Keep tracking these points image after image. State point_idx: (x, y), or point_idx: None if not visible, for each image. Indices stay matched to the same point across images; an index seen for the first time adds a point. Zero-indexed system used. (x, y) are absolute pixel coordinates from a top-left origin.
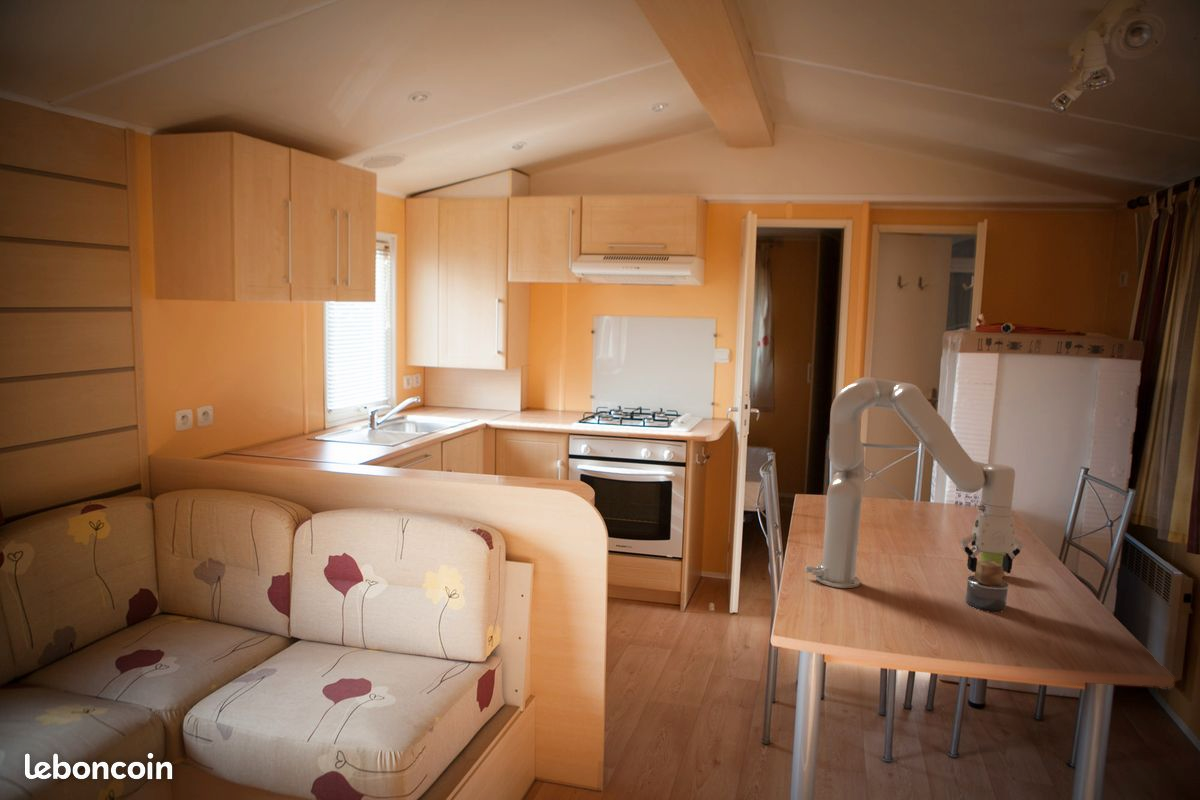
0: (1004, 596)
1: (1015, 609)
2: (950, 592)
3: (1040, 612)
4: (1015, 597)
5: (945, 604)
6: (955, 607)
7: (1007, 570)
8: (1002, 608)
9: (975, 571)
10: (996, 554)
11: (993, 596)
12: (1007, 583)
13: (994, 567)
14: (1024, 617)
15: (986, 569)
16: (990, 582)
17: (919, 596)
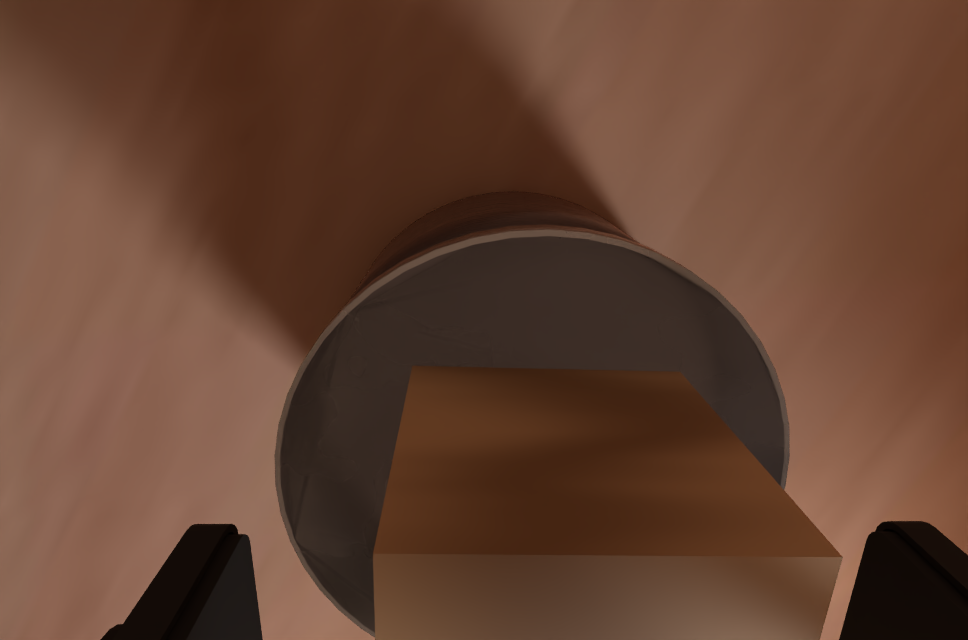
0: (409, 246)
1: (264, 282)
2: None
3: (40, 221)
4: (131, 548)
5: (863, 354)
6: (821, 292)
7: (232, 569)
8: (431, 215)
9: (879, 531)
10: None
11: (571, 217)
12: (280, 434)
13: (599, 547)
14: (272, 73)
15: (765, 511)
16: (582, 383)
17: (960, 505)
